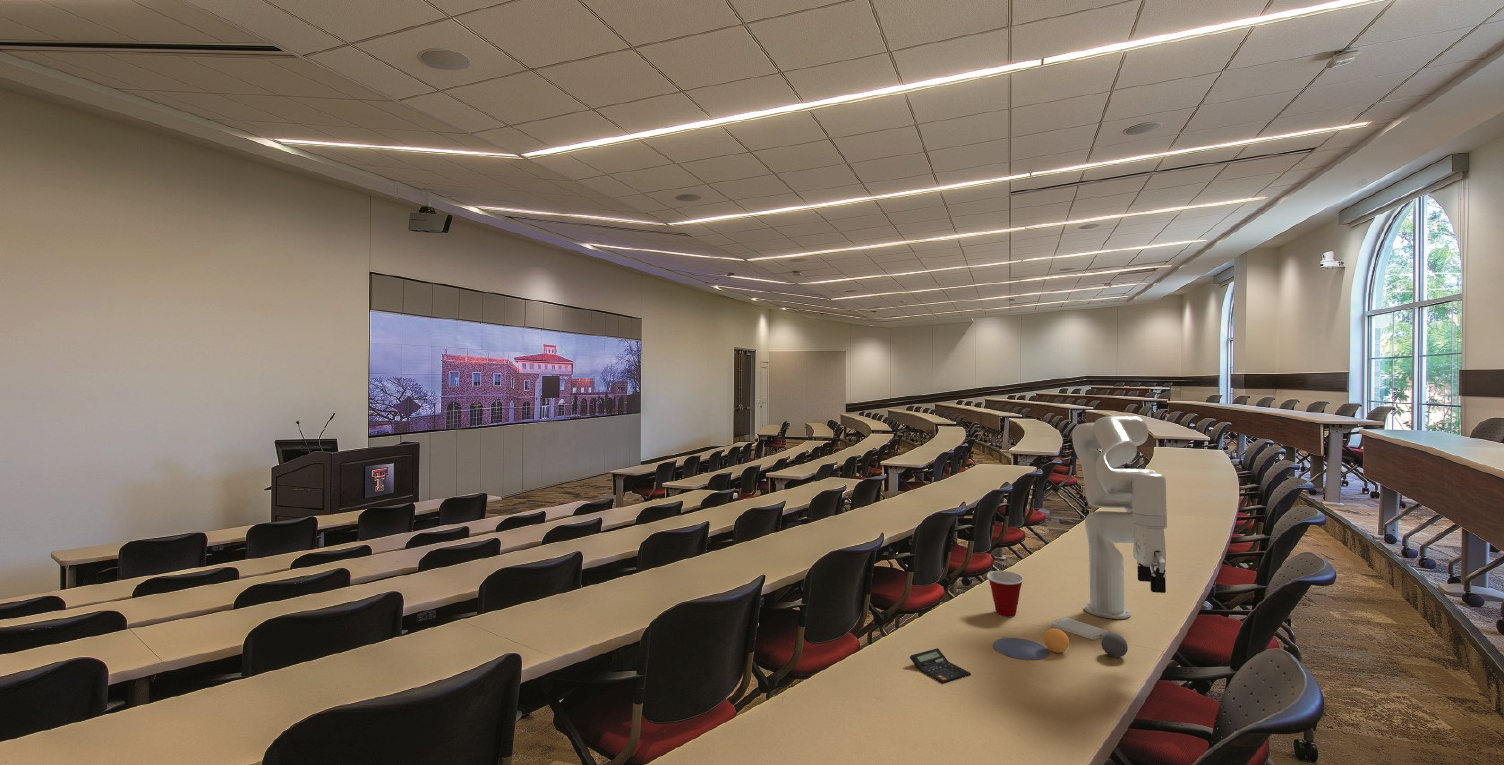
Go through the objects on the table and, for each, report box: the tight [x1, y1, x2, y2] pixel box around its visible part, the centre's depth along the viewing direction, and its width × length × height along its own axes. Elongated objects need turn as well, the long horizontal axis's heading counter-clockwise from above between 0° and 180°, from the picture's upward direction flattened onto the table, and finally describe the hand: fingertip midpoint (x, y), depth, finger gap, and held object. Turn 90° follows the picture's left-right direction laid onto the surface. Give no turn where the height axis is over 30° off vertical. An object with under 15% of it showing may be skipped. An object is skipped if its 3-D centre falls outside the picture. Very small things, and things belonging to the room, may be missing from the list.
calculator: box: [909, 647, 972, 685], centre depth 157 cm, size 9×12×3 cm
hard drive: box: [1051, 617, 1110, 641], centre depth 182 cm, size 2×8×12 cm
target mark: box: [993, 637, 1050, 661], centre depth 169 cm, size 14×14×1 cm
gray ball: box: [1101, 632, 1129, 659], centre depth 163 cm, size 6×6×6 cm
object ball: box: [1043, 628, 1070, 654], centre depth 167 cm, size 6×6×6 cm
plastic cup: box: [986, 570, 1025, 617], centre depth 195 cm, size 11×11×12 cm
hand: (1151, 586), depth 161 cm, fingers open, 9 cm apart
